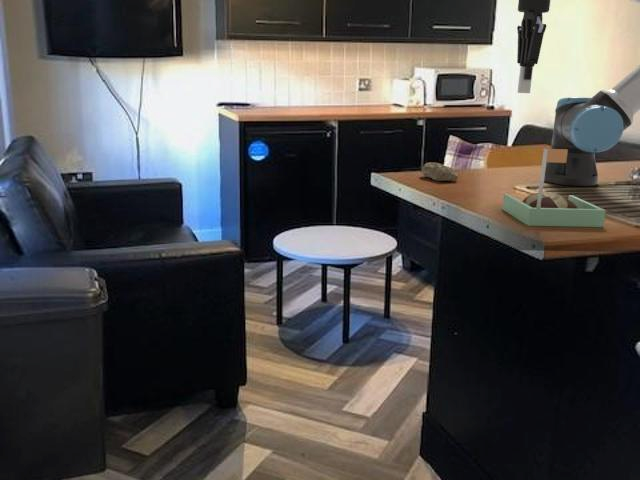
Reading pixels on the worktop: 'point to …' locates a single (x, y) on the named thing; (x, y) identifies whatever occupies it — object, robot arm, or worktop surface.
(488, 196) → the worktop surface
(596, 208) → the mint green tray
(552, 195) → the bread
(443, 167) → the rock
